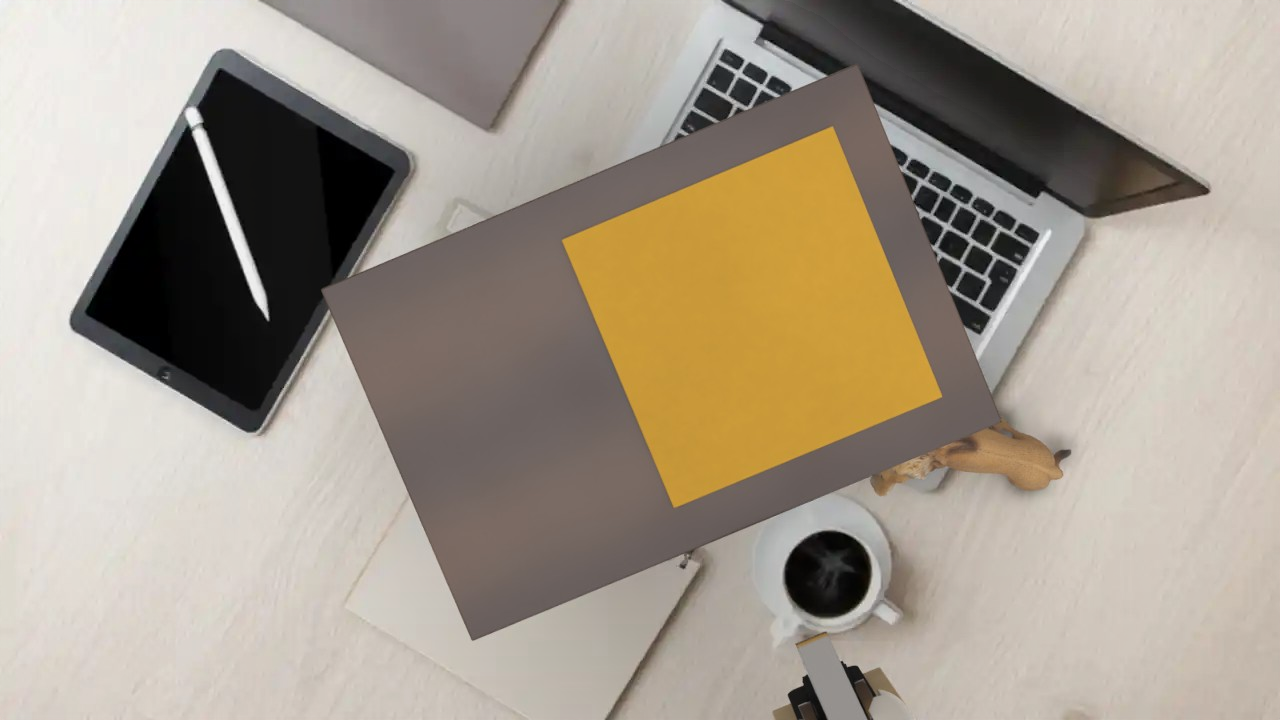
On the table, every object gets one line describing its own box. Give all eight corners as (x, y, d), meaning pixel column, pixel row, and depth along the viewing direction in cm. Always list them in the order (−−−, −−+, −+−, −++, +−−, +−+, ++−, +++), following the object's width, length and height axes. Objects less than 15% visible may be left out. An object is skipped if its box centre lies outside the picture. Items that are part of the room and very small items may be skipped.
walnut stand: (870, 381, 72) (1002, 422, 46) (531, 521, 72) (471, 641, 46) (777, 153, 71) (858, 62, 45) (436, 296, 71) (319, 289, 45)
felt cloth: (940, 396, 46) (943, 397, 45) (673, 506, 46) (673, 508, 45) (831, 127, 45) (833, 125, 45) (561, 240, 45) (561, 239, 45)
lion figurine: (841, 478, 72) (870, 502, 63) (845, 397, 72) (875, 410, 63) (1064, 488, 72) (1125, 514, 63) (1070, 408, 72) (1132, 422, 63)
